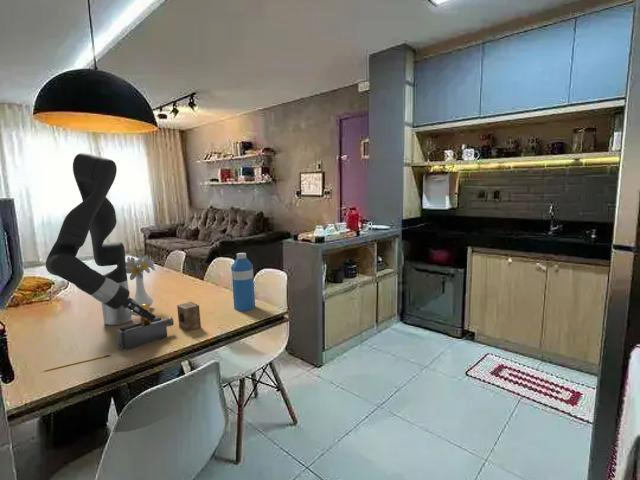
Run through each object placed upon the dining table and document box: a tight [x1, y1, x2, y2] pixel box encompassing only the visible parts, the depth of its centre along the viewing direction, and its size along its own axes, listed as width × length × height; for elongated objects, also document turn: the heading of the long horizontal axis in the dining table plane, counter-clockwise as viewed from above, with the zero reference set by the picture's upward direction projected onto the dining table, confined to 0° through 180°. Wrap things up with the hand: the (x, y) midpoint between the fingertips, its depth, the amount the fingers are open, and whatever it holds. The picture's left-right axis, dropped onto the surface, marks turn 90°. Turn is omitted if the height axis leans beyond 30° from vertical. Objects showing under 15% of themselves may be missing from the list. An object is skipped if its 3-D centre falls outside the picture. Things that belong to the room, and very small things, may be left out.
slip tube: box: [124, 303, 174, 331], centre depth 124 cm, size 16×3×11 cm, turn 136°
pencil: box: [39, 353, 113, 373], centre depth 109 cm, size 19×1×1 cm, turn 122°
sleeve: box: [116, 316, 168, 351], centre depth 123 cm, size 15×5×6 cm, turn 136°
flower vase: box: [125, 253, 156, 309], centre depth 157 cm, size 13×18×25 cm
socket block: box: [176, 301, 202, 332], centre depth 135 cm, size 6×7×9 cm
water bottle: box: [230, 252, 256, 312], centre depth 155 cm, size 9×9×25 cm
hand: (151, 317), depth 125 cm, fingers closed on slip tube, 3 cm apart
